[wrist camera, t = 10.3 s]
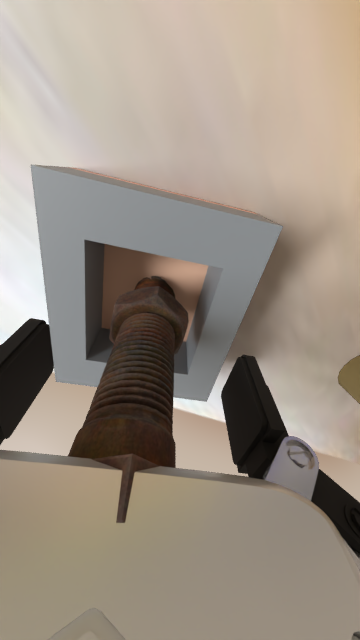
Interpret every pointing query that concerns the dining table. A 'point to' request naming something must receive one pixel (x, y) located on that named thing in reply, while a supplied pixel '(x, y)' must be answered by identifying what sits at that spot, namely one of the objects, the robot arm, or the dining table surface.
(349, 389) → the cork
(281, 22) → the dining table surface
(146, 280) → the bolt
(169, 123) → the dining table surface
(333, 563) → the robot arm
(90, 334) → the socket block
